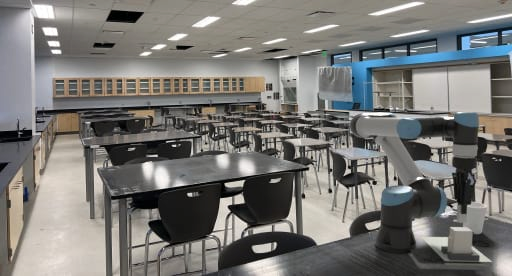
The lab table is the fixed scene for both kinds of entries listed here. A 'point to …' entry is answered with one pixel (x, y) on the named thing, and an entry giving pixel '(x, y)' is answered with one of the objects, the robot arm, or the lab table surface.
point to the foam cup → (475, 217)
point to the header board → (442, 247)
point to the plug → (460, 240)
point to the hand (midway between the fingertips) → (461, 221)
